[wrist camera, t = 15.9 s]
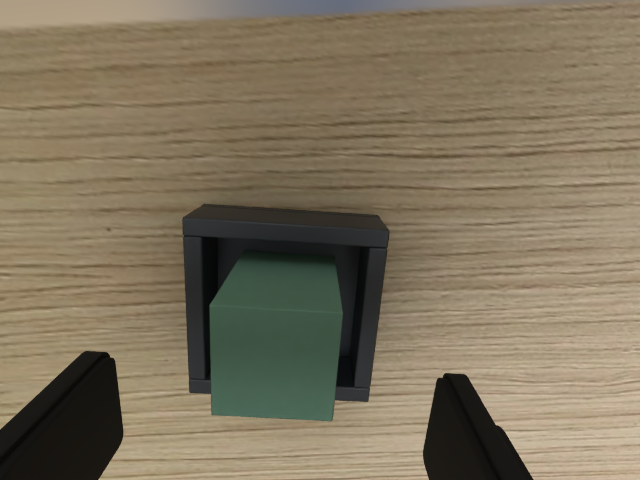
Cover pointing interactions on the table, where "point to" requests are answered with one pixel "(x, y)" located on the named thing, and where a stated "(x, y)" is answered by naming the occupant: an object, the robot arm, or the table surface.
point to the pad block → (276, 337)
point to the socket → (287, 237)
